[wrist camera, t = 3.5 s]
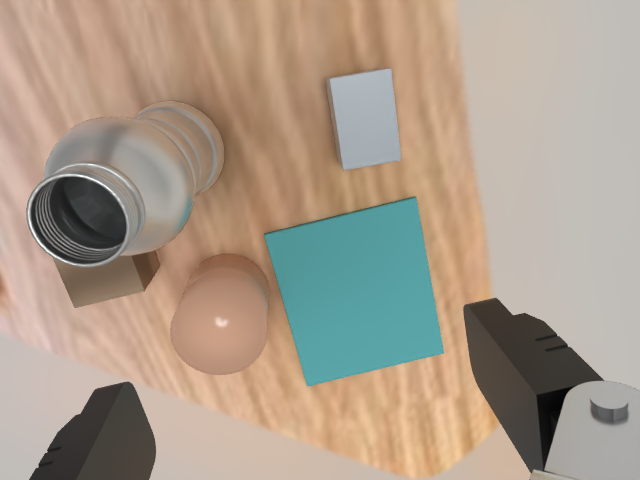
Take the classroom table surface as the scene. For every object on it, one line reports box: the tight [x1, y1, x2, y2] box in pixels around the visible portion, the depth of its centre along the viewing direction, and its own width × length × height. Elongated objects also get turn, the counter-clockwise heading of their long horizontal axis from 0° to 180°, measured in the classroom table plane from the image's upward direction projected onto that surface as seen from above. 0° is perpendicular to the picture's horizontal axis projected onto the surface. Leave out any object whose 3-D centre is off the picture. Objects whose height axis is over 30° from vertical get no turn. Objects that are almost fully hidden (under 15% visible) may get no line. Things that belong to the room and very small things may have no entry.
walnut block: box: [53, 250, 160, 308], centre depth 37 cm, size 5×5×5 cm
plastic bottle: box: [26, 101, 225, 268], centre depth 28 cm, size 6×7×20 cm
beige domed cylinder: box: [171, 254, 269, 375], centre depth 38 cm, size 6×6×7 cm
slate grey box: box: [325, 68, 401, 170], centre depth 36 cm, size 6×4×4 cm, turn 10°
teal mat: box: [264, 197, 444, 386], centre depth 42 cm, size 14×12×1 cm
